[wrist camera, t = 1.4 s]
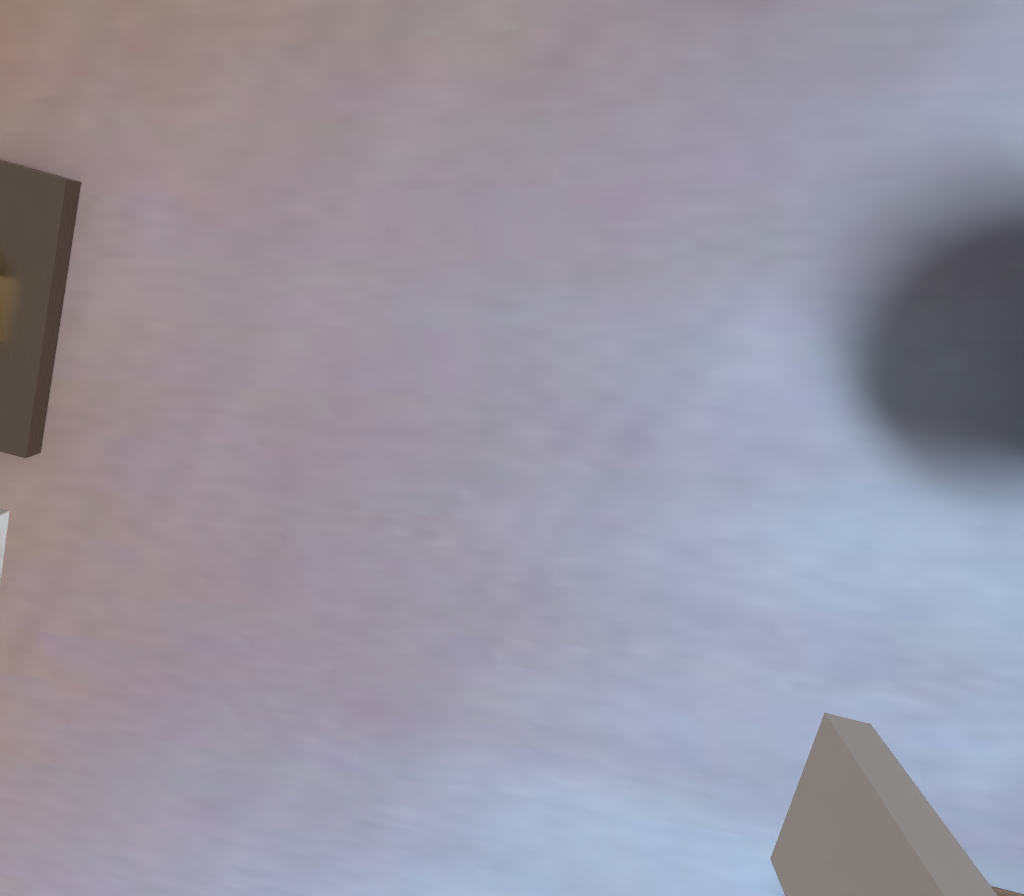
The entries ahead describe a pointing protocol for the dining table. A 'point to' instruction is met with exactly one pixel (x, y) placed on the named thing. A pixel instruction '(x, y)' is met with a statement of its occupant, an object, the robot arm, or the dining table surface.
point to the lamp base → (31, 296)
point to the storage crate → (1005, 892)
